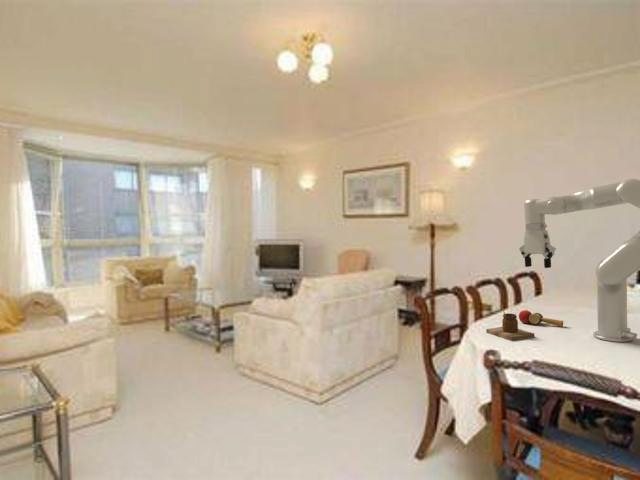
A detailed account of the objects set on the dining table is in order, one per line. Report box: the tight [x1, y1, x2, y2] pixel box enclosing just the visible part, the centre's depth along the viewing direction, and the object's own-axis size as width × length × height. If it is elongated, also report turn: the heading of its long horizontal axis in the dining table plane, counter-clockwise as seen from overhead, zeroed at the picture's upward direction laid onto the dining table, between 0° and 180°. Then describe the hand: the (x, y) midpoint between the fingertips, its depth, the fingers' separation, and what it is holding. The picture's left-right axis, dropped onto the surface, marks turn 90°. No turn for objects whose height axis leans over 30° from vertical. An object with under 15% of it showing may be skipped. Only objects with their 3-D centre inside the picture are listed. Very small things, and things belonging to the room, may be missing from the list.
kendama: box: [518, 309, 564, 328], centre depth 184 cm, size 8×6×18 cm
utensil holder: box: [500, 302, 519, 333], centre depth 170 cm, size 6×6×12 cm
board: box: [485, 326, 535, 342], centre depth 170 cm, size 14×12×2 cm
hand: (537, 267), depth 174 cm, fingers open, 9 cm apart
